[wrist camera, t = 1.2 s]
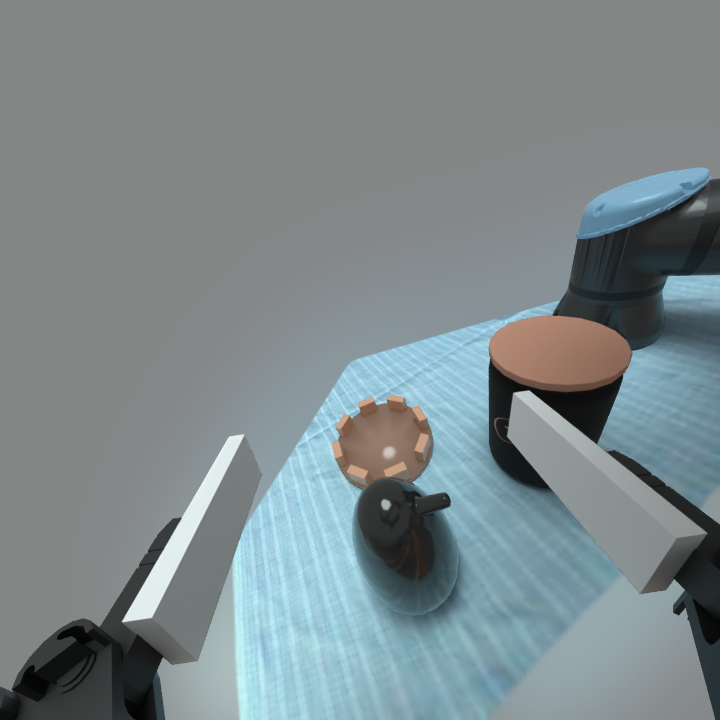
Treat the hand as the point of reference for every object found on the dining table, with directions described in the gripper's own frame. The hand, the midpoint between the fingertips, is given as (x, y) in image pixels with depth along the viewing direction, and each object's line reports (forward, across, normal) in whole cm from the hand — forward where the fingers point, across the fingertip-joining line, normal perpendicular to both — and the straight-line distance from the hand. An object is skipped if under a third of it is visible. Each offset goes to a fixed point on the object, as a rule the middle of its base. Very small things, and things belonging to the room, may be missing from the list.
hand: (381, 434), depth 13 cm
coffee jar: (+14, +21, -20) cm, 32 cm away
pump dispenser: (+7, +2, -25) cm, 26 cm away
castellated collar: (+22, +1, -22) cm, 31 cm away
